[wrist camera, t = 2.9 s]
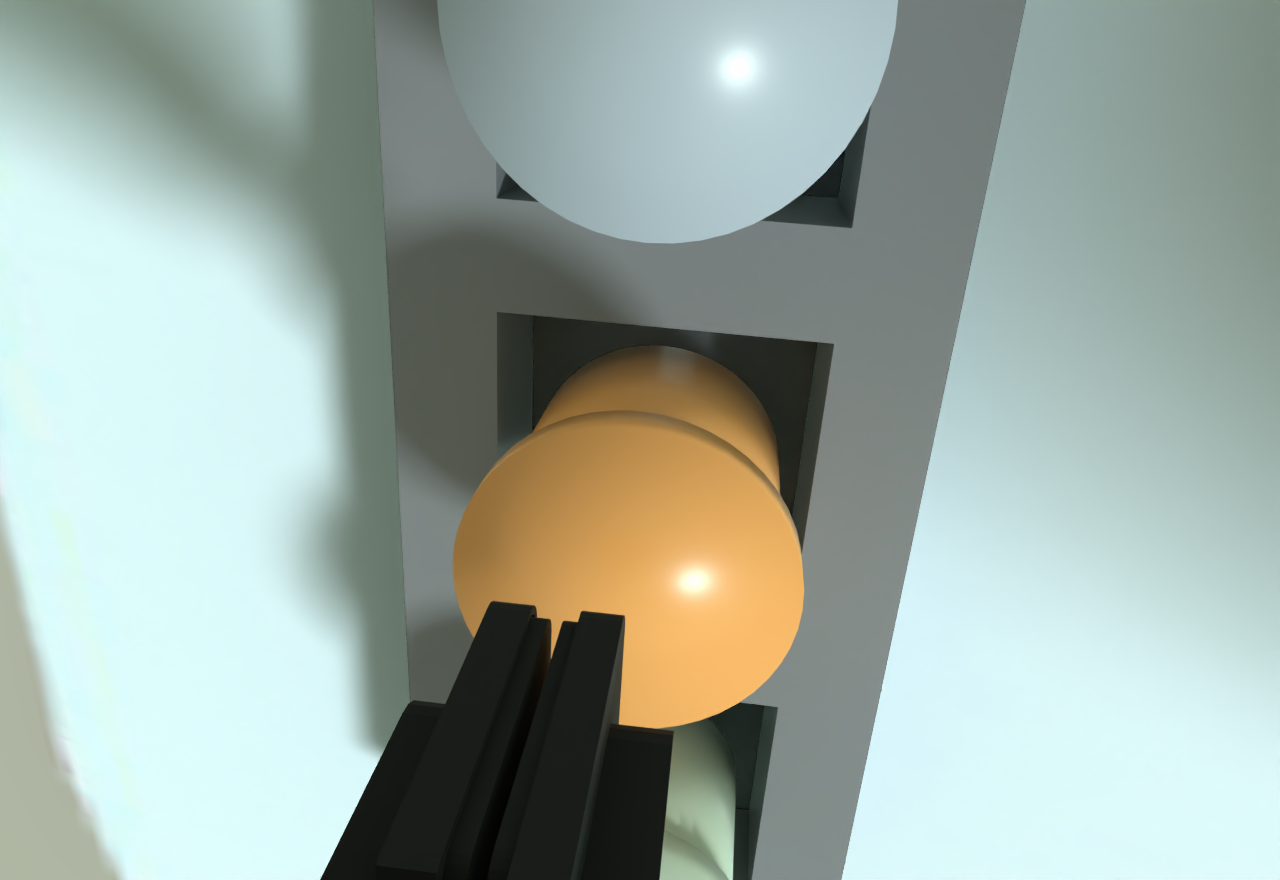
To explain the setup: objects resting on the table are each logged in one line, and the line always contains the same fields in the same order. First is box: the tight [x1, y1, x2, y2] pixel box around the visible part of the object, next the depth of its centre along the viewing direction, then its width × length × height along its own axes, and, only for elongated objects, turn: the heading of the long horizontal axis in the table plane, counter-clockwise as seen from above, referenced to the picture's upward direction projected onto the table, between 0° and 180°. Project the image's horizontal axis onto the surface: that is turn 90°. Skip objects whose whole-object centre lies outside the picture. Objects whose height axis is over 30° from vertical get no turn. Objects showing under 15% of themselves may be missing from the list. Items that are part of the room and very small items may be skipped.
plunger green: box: [654, 718, 736, 880], centre depth 20 cm, size 5×5×5 cm
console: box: [373, 0, 1026, 880], centre depth 19 cm, size 10×24×3 cm, turn 176°
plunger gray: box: [437, 0, 898, 244], centre depth 13 cm, size 5×5×5 cm
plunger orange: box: [453, 345, 804, 728], centre depth 16 cm, size 5×5×5 cm
